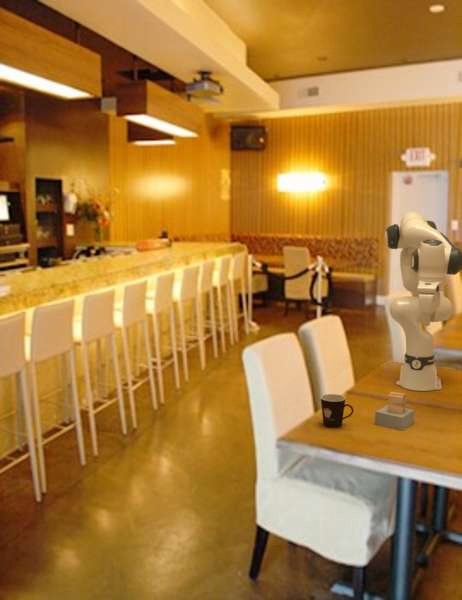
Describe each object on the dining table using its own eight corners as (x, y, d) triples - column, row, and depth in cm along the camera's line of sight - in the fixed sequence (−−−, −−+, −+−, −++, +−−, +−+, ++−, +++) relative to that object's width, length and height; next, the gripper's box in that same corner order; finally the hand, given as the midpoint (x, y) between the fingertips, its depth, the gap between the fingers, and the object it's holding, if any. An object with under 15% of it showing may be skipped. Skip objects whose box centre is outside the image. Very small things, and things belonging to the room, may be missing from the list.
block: (387, 417, 220) (388, 404, 219) (413, 423, 214) (414, 410, 213) (375, 425, 212) (375, 411, 212) (401, 431, 206) (402, 417, 205)
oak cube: (390, 408, 215) (390, 391, 214) (404, 410, 213) (405, 393, 212) (387, 412, 211) (388, 395, 210) (402, 414, 209) (402, 397, 208)
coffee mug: (315, 423, 214) (315, 395, 213) (336, 419, 218) (336, 392, 216) (333, 433, 204) (334, 405, 202) (354, 429, 207) (355, 401, 206)
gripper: (427, 282, 226) (426, 318, 228) (416, 288, 208) (414, 327, 210) (445, 282, 223) (443, 319, 225) (435, 289, 205) (433, 329, 207)
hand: (429, 323), depth 217 cm, fingers open, 8 cm apart
